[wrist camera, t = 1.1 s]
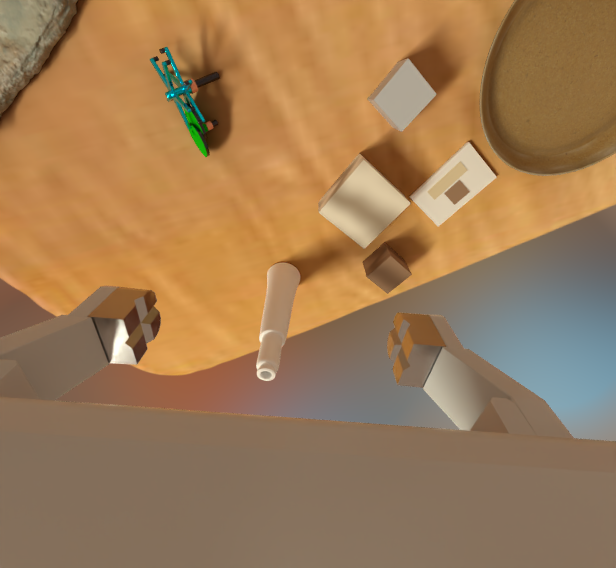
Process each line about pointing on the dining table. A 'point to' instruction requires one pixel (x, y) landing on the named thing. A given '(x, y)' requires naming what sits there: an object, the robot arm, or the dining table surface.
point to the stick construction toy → (187, 99)
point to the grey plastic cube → (402, 95)
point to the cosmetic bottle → (276, 317)
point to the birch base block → (362, 202)
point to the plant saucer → (552, 86)
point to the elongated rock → (28, 40)
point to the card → (453, 184)
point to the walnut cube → (386, 268)
